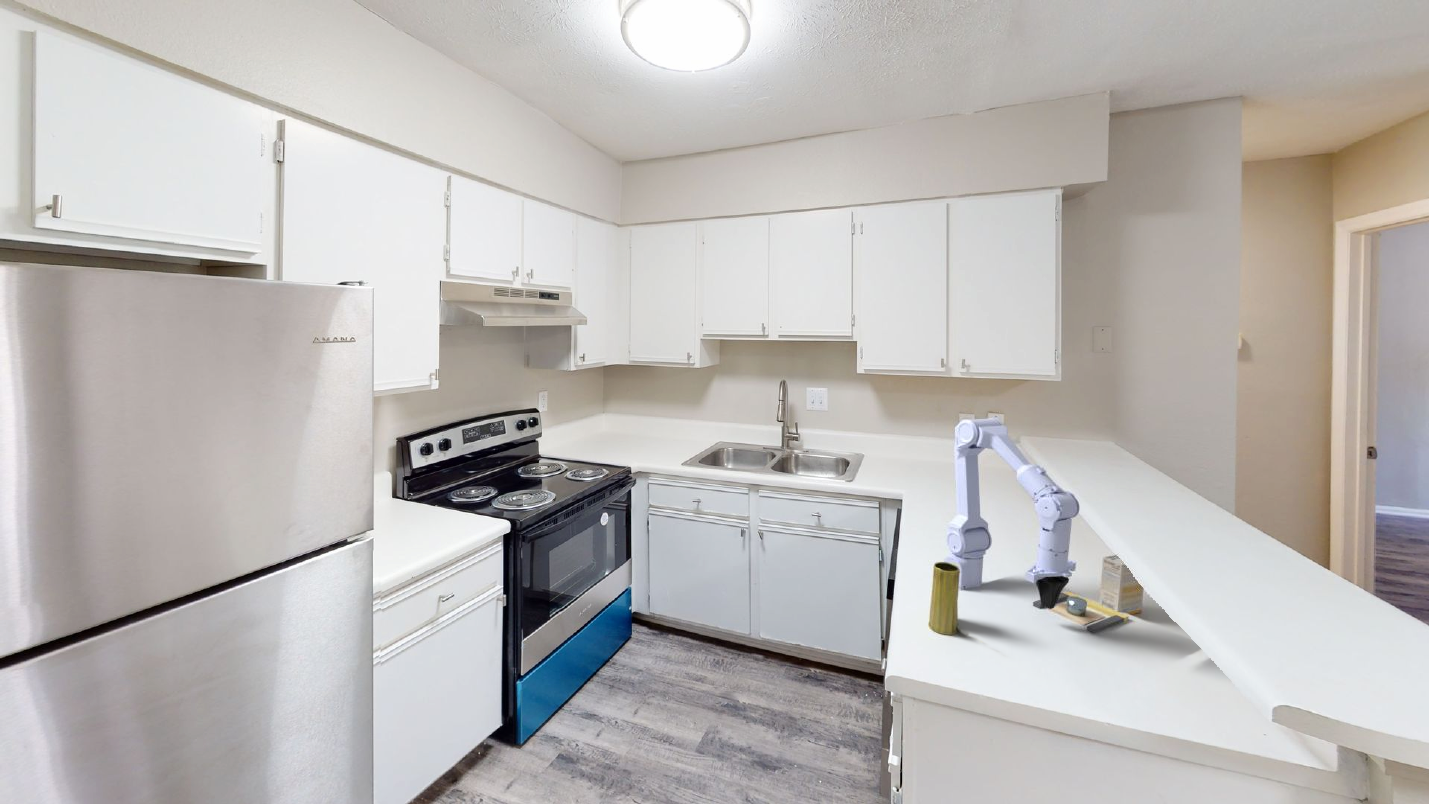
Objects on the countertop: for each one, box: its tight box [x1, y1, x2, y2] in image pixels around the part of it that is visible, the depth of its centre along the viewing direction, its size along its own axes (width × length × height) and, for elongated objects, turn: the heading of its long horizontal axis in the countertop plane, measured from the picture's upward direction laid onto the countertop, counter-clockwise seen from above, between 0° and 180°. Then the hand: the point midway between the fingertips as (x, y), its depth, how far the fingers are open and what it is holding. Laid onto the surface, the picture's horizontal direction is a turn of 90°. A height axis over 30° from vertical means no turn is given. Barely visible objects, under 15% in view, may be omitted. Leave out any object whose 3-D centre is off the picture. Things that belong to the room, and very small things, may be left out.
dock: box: [1032, 590, 1129, 634], centre depth 129 cm, size 13×14×2 cm
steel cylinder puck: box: [1066, 596, 1088, 617], centre depth 129 cm, size 4×4×3 cm
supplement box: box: [1098, 554, 1145, 616], centre depth 132 cm, size 8×5×13 cm, turn 109°
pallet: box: [1047, 601, 1106, 626], centre depth 129 cm, size 8×8×2 cm
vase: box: [928, 561, 960, 636], centre depth 124 cm, size 6×6×14 cm
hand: (1047, 606), depth 123 cm, fingers closed
